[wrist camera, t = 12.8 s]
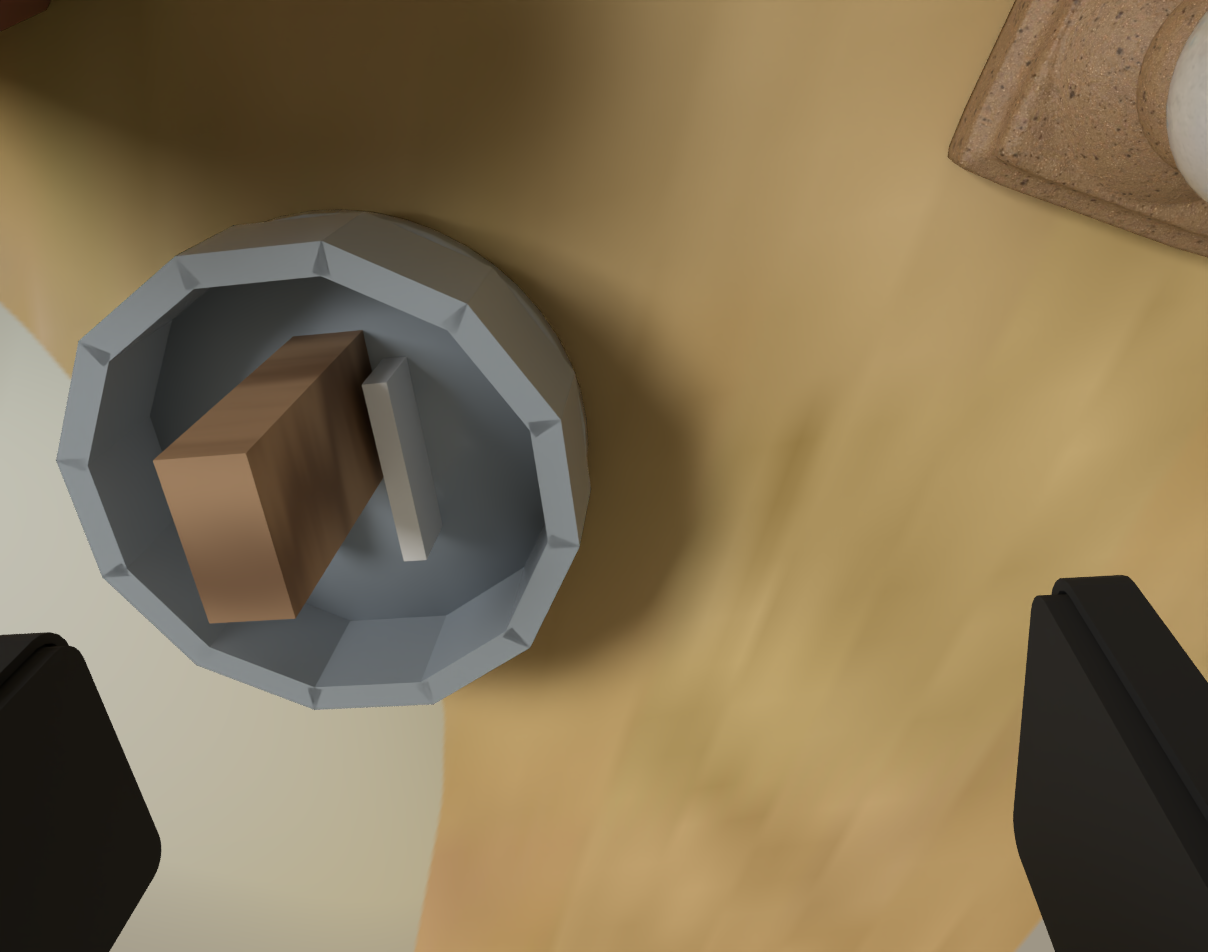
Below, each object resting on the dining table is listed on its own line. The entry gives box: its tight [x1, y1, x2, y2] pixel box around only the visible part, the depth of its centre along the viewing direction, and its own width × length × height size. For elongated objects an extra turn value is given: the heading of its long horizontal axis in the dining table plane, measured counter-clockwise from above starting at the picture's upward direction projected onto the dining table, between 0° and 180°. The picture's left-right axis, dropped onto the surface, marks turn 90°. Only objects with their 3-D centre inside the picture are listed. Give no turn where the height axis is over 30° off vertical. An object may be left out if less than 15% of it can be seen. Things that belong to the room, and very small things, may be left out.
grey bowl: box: [56, 209, 591, 710], centre depth 42 cm, size 20×20×6 cm
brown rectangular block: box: [153, 330, 384, 624], centre depth 37 cm, size 6×3×12 cm, turn 7°
